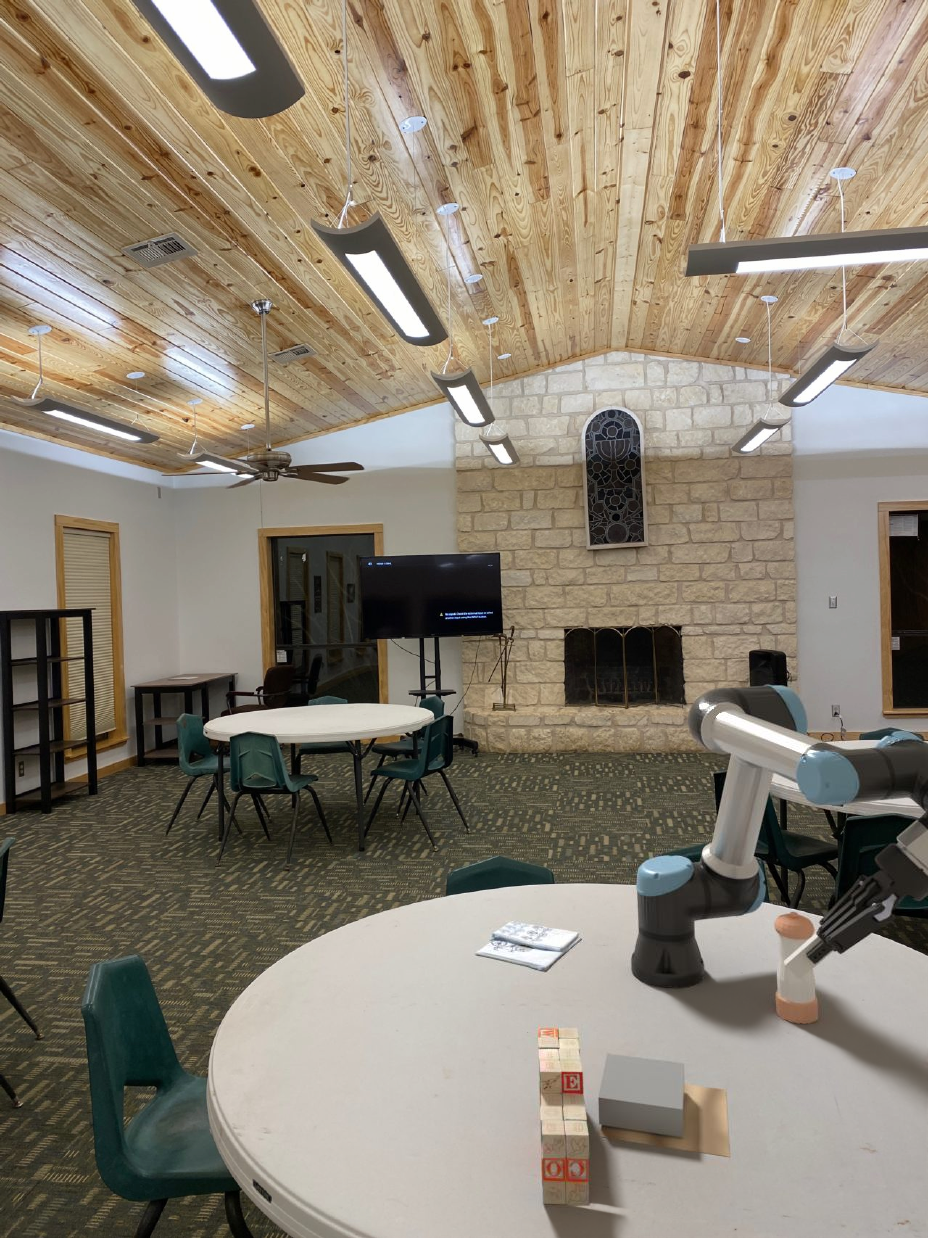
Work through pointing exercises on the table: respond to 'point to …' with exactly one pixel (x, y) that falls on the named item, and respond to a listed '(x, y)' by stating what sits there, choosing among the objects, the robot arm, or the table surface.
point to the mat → (689, 1125)
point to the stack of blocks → (562, 1118)
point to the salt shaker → (792, 992)
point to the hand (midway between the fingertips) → (791, 970)
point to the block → (642, 1095)
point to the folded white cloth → (543, 939)
